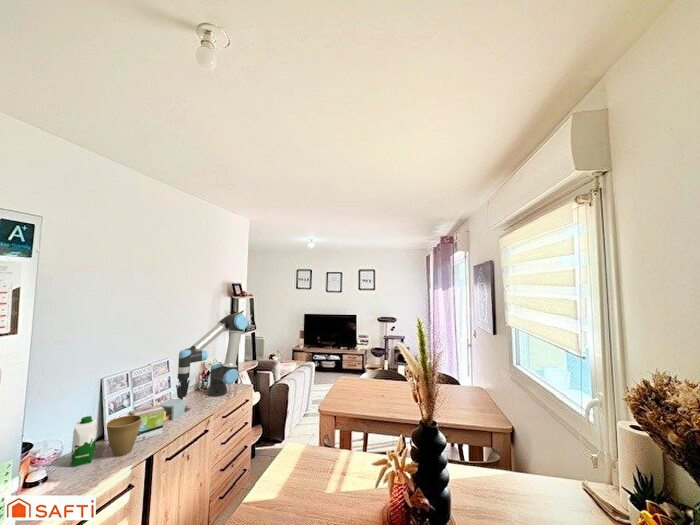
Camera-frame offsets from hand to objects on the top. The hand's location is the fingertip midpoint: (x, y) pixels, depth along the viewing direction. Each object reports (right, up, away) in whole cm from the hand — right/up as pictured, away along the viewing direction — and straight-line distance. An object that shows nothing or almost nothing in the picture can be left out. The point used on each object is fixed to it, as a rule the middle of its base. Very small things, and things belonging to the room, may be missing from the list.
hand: (181, 406), depth 218 cm
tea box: (0, +1, -39) cm, 39 cm away
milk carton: (-13, +4, -66) cm, 67 cm away
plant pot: (0, +3, -57) cm, 57 cm away
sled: (-1, 0, -15) cm, 15 cm away
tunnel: (-1, -1, -10) cm, 10 cm away
